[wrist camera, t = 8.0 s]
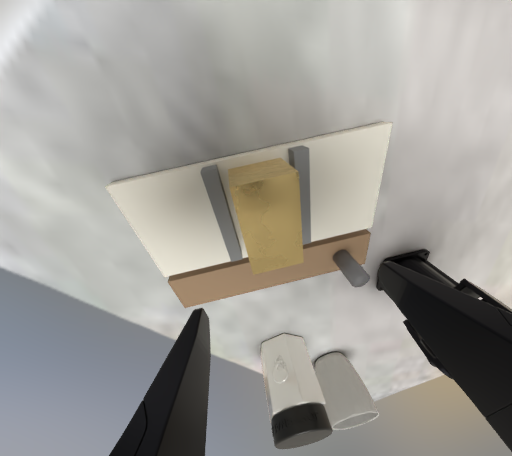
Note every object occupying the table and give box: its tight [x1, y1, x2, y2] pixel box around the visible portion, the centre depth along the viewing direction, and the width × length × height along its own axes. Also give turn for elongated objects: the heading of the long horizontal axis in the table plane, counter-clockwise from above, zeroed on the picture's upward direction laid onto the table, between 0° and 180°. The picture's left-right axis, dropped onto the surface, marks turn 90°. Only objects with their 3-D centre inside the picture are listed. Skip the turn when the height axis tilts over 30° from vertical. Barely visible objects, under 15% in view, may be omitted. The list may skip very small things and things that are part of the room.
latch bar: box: [228, 158, 304, 275], centre depth 16 cm, size 8×4×4 cm, turn 11°
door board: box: [105, 122, 393, 308], centre depth 18 cm, size 24×16×5 cm
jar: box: [260, 333, 332, 449], centre depth 30 cm, size 9×8×12 cm
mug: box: [315, 352, 379, 430], centre depth 38 cm, size 13×9×10 cm
